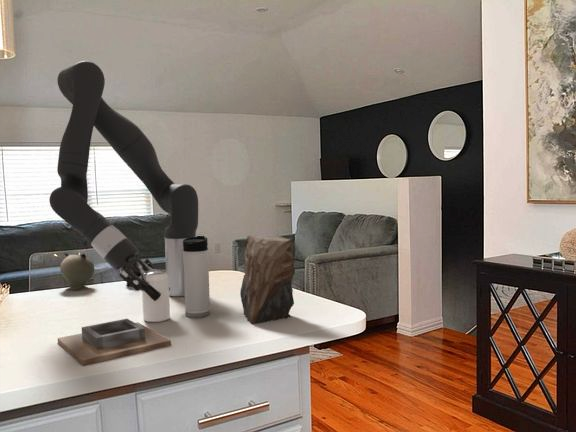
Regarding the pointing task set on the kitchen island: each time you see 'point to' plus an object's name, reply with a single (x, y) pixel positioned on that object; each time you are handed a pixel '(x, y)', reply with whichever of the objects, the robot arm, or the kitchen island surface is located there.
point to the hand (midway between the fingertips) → (162, 294)
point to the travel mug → (196, 277)
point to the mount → (111, 341)
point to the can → (161, 306)
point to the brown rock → (267, 279)
